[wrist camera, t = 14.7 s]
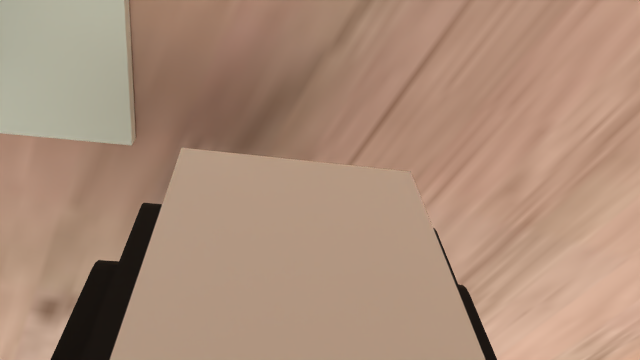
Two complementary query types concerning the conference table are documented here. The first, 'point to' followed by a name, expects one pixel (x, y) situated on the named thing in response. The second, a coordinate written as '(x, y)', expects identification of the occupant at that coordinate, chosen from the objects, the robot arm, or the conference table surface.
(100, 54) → the plate
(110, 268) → the robot arm
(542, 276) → the conference table surface
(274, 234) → the cream brick
